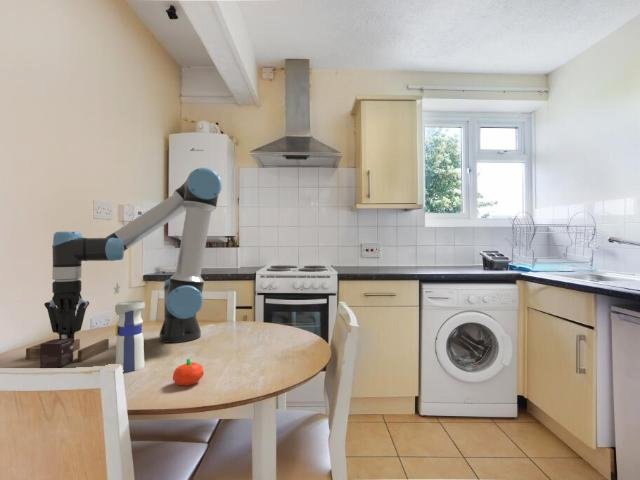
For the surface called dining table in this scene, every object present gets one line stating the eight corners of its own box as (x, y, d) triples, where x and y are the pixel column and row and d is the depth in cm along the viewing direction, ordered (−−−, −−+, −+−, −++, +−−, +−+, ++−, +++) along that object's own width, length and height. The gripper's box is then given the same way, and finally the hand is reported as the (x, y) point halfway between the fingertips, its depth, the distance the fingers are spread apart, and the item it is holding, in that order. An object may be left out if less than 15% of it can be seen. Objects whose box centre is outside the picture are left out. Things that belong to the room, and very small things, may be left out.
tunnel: (108, 348, 125) (108, 338, 125) (81, 361, 111) (81, 350, 111) (53, 349, 125) (53, 339, 125) (19, 362, 111) (19, 350, 111)
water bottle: (111, 375, 99) (111, 285, 100) (115, 365, 107) (115, 282, 108) (144, 370, 103) (144, 283, 103) (145, 362, 110) (145, 281, 111)
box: (60, 368, 105) (60, 343, 105) (39, 368, 105) (39, 343, 105) (73, 361, 111) (73, 338, 111) (54, 362, 111) (54, 338, 111)
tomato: (167, 389, 90) (164, 364, 90) (189, 378, 98) (186, 355, 98) (189, 390, 88) (186, 363, 88) (210, 378, 95) (207, 354, 95)
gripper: (95, 278, 117) (94, 351, 116) (55, 279, 117) (55, 351, 117) (79, 281, 109) (78, 358, 109) (37, 281, 109) (36, 358, 109)
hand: (66, 354), depth 113 cm, fingers closed
